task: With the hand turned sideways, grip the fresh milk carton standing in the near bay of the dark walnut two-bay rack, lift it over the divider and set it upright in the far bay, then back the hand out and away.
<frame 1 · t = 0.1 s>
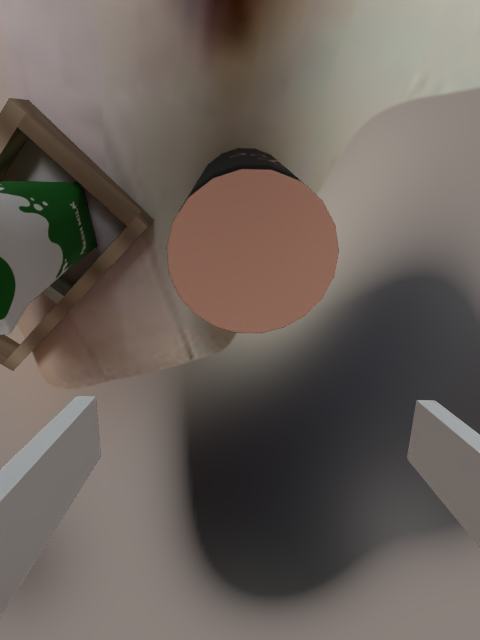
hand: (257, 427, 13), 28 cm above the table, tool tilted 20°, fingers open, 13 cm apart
fresh milk carton: (58, 215, 36), resting in walnut slot rack
coffee jar: (244, 201, 35), on the table
walnut slot rack: (26, 255, 38), on the table
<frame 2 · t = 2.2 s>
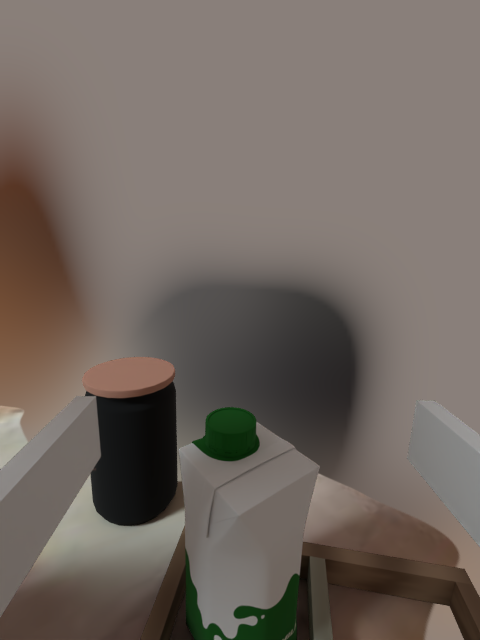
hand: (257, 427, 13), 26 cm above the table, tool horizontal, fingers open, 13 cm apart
fresh milk carton: (240, 636, 28), resting in walnut slot rack
coffee jar: (137, 497, 43), on the table
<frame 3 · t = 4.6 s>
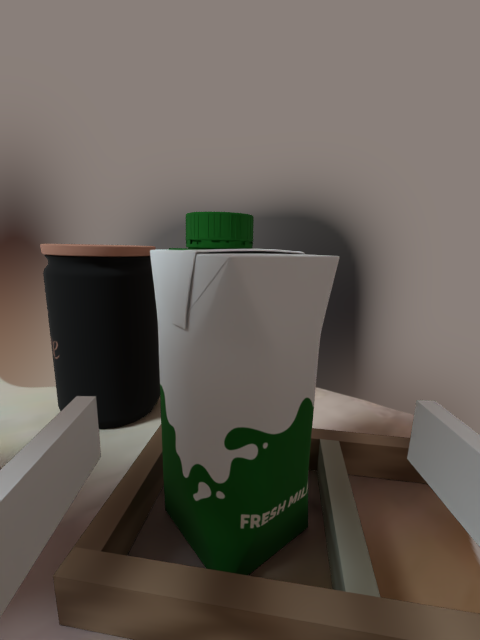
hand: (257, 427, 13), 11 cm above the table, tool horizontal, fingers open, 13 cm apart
fresh milk carton: (235, 522, 22), resting in walnut slot rack
coffee jar: (113, 408, 37), on the table
walnut slot rack: (336, 534, 21), on the table
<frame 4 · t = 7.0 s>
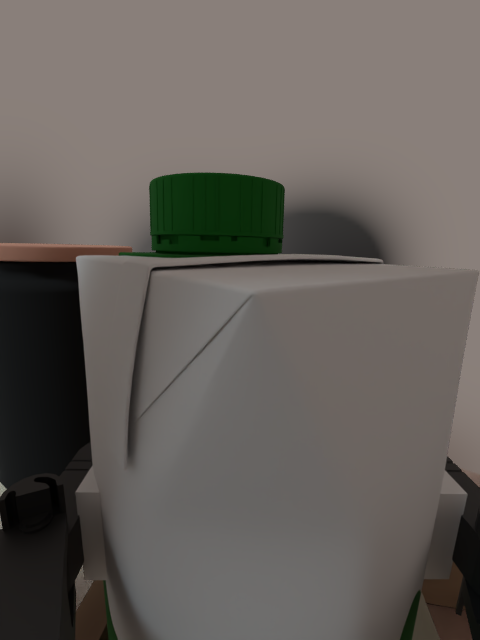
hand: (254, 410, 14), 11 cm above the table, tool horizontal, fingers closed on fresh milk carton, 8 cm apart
coffee jar: (77, 463, 27), on the table
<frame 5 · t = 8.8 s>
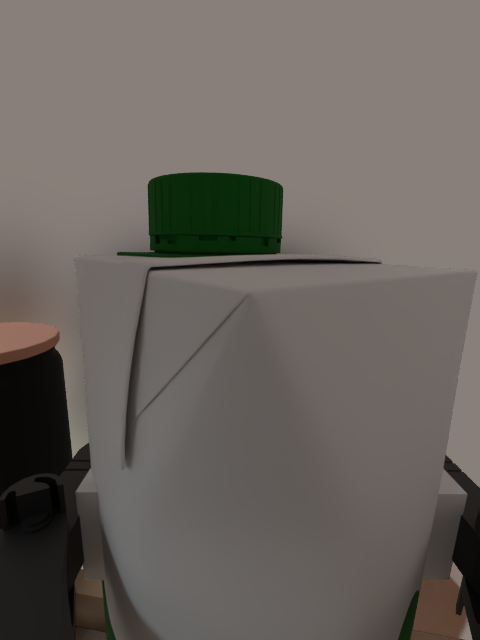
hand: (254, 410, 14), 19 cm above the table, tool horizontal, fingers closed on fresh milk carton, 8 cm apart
coffee jar: (14, 520, 30), on the table
when the fingers open (12 cm above the table, at t = 11.1 s): fresh milk carton stays where it is, resting in walnut slot rack.
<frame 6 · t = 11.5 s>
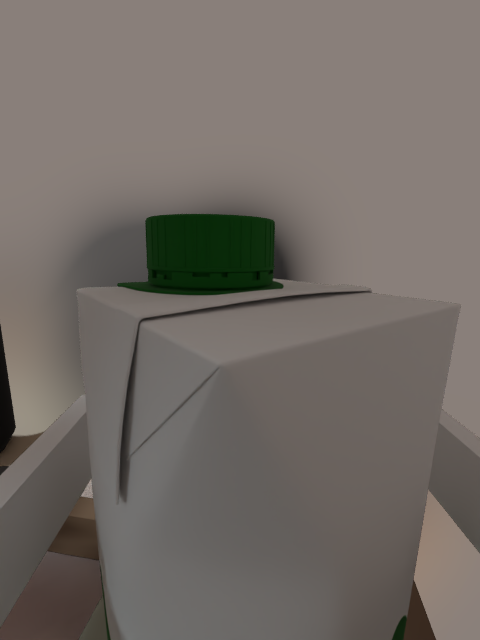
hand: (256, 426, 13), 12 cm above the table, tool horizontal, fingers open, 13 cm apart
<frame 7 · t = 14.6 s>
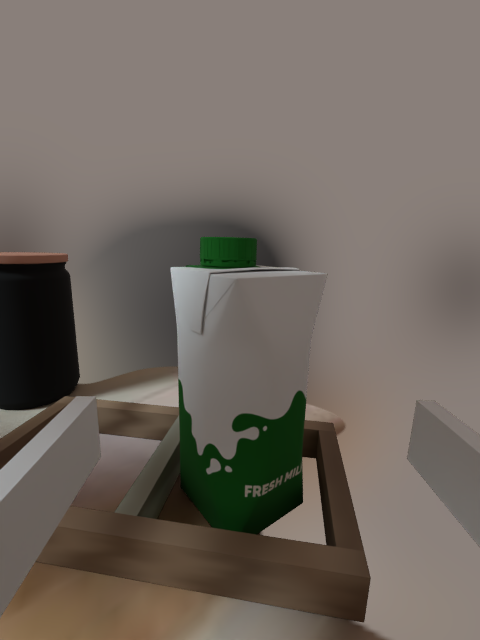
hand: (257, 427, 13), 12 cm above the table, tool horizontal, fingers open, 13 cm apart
fresh milk carton: (240, 498, 26), resting in walnut slot rack
coffee jar: (35, 393, 42), on the table
walnut slot rack: (163, 486, 26), on the table
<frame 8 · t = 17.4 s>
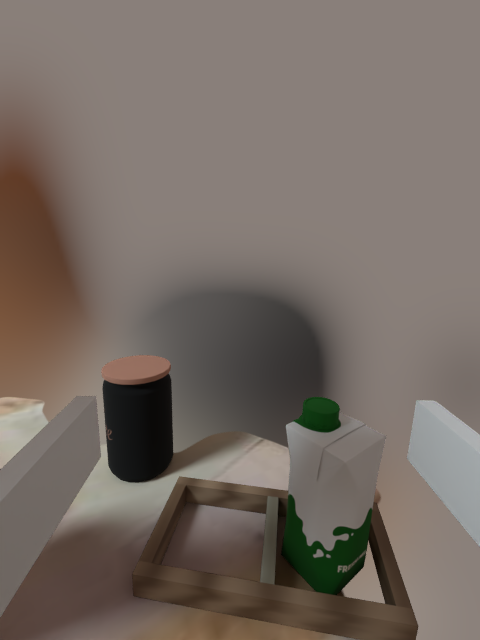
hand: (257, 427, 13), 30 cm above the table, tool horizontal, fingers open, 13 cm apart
fresh milk carton: (321, 562, 39), resting in walnut slot rack
coffee jar: (142, 464, 56), on the table
walnut slot rack: (269, 553, 40), on the table
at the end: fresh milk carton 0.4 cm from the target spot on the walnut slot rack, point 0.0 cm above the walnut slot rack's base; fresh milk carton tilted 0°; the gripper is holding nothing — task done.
